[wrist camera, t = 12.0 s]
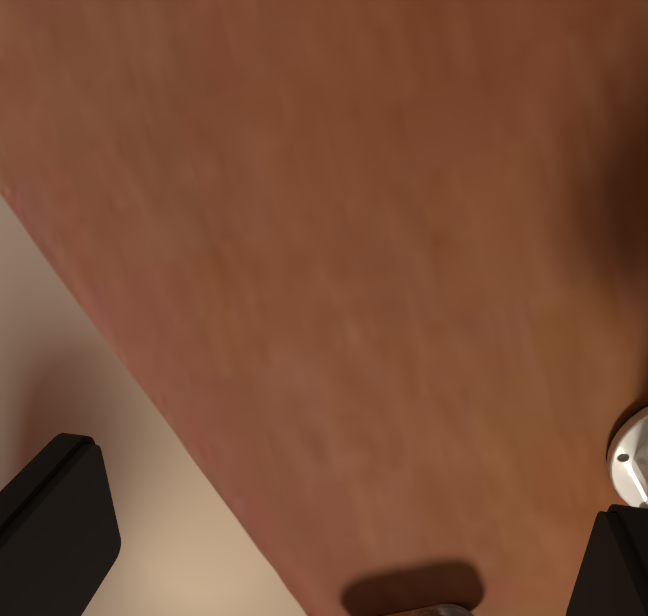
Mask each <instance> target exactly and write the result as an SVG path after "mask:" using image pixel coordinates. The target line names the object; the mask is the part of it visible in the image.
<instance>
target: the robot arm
mask: <svg viewBox="0 0 648 616" xmlns="http://www.w3.org/2000/svg"><path fill="white" fill-rule="evenodd" d="M607 468H608V474H609V476H610V479H611V481H612V483H613V486H614V488H615V489H616V491H617V492H618V494H619V495H620V497H621V498H622V499H623V500H624V501H625V502H626V503H627V504H628V505H630V506H624V505H617V504H612V505H611V506H610V507H609V509H608V511H607V512H603V511H600V512H599V513H598V514H597V516H596V519H595V523H594V526H593V529H592V532H591V535H590V538H589V542H588V545H587V548H586V551H585V554H584V558H583V561H582V564H581V567H580V570H579V573H578V577H577V580H576V583H575V586H574V589H573V593H572V596H571V599H570V602H569V605H568V608H567V612H566V616H648V406H647V407H645V408H643V409H642V410H640V411H639V412H638V413H636V414H635V415H634V416H632V417H631V418H630V419H629V420H628V421H627V422H626V423H625V424H624V425H623V426H622V427H621V428H620V429H619V431H618V432H617V434H616V435H615V437H614V438H613V440H612V442H611V445H610V448H609V450H608V456H607ZM120 547H121V538H120V533H119V529H118V524H117V520H116V515H115V510H114V506H113V501H112V498H111V492H110V488H109V483H108V479H107V474H106V470H105V465H104V460H103V456H102V451H101V448H100V447H99V446H98V445H95V442H94V440H93V439H92V438H91V437H89V436H83V435H76V434H68V433H61V434H59V435H57V436H56V437H54V438H53V439H52V441H50V442H49V443H48V444H47V446H45V447H44V448H43V450H41V451H40V452H39V453H38V455H36V456H35V457H34V458H33V460H31V462H29V464H27V465H26V466H25V468H23V469H22V471H21V472H20V473H19V474H17V476H15V477H14V479H12V480H11V481H10V482H9V483H8V485H6V486H5V487H4V489H2V490H1V492H0V616H81V615H82V613H83V612H84V610H85V609H86V607H87V605H88V604H89V602H90V601H91V599H92V597H93V596H94V594H95V593H96V591H97V589H98V588H99V586H100V584H101V583H102V581H103V580H104V578H105V577H106V575H107V573H108V572H109V570H110V568H111V567H112V565H113V564H114V562H115V561H116V559H117V557H118V554H119V551H120Z"/></svg>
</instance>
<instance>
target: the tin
mask: <svg viewBox="0 0 648 616" xmlns="http://www.w3.org/2000/svg"><path fill="white" fill-rule="evenodd" d="M382 616H474V615H473V614H472V613H471V612H469V611H468V610H467V609H465V608H463V607H461V606H458V605H455V604H438V605H433V606H428V607H423V608H419V609H414V610H409V611H404V612H398V613H393V614H388V615H382Z"/></svg>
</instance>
